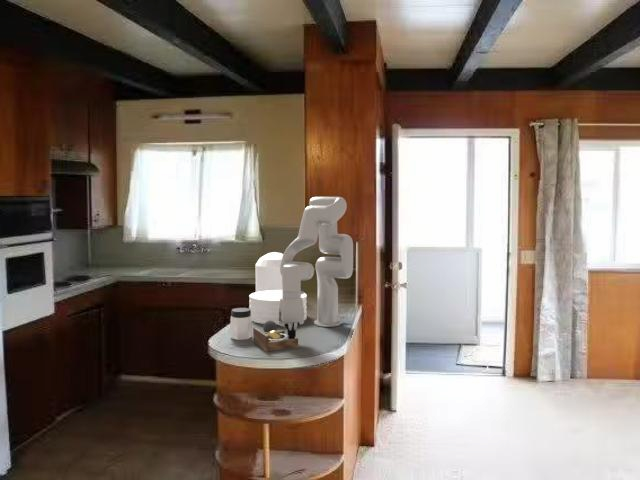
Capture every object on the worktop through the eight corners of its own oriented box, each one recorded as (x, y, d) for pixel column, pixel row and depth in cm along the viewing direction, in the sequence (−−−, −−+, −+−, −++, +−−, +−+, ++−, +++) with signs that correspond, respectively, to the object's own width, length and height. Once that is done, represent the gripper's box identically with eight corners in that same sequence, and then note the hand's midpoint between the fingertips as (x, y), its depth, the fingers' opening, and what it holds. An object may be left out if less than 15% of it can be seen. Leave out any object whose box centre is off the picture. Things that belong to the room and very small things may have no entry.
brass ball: (261, 337, 225) (270, 346, 227) (266, 340, 220) (276, 349, 222) (270, 326, 227) (280, 335, 229) (276, 328, 222) (286, 338, 224)
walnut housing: (283, 338, 235) (283, 324, 234) (298, 347, 222) (298, 332, 221) (253, 342, 229) (253, 327, 229) (266, 351, 216) (266, 336, 215)
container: (251, 299, 319) (250, 250, 316) (286, 296, 327) (286, 249, 324) (261, 306, 300) (261, 254, 297) (298, 303, 308) (298, 253, 305)
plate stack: (299, 326, 257) (299, 301, 256) (241, 323, 263) (241, 299, 262) (312, 313, 284) (312, 291, 283) (259, 310, 290) (259, 288, 289)
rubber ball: (273, 331, 246) (273, 318, 245) (279, 335, 240) (279, 321, 240) (261, 333, 243) (261, 319, 243) (266, 336, 238) (265, 322, 237)
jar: (255, 337, 236) (255, 309, 235) (240, 341, 230) (240, 312, 229) (242, 333, 242) (242, 306, 241) (227, 337, 236) (226, 309, 235)
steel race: (281, 340, 232) (281, 331, 232) (293, 346, 223) (293, 338, 223) (257, 343, 227) (257, 335, 227) (268, 350, 218) (268, 341, 217)
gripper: (304, 291, 233) (304, 334, 235) (270, 294, 227) (271, 338, 228) (311, 294, 227) (311, 338, 228) (277, 298, 220) (278, 343, 222)
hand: (291, 338), depth 228 cm, fingers closed
